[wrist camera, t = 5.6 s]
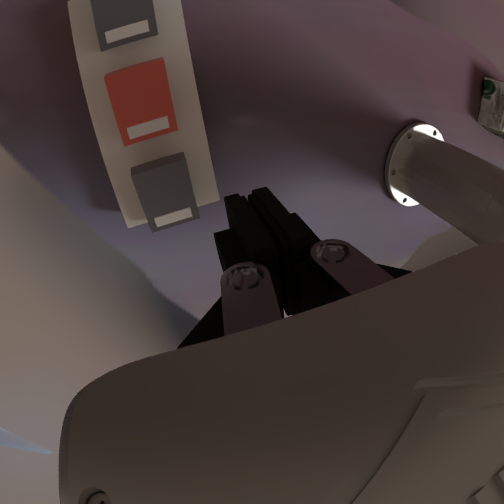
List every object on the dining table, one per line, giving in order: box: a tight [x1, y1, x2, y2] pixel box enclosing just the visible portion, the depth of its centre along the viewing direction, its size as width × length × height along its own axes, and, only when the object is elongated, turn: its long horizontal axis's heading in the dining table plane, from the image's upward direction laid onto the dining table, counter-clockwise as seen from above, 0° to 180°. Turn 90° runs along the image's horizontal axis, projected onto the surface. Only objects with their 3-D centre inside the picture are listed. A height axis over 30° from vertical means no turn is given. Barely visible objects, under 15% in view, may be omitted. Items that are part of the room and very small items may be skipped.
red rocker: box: [104, 57, 178, 147], centre depth 20 cm, size 4×6×2 cm
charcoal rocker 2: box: [131, 152, 200, 233], centre depth 24 cm, size 4×6×2 cm
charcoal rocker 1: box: [90, 0, 158, 52], centre depth 15 cm, size 4×6×2 cm
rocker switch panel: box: [67, 0, 220, 228], centre depth 22 cm, size 9×22×4 cm, turn 9°
